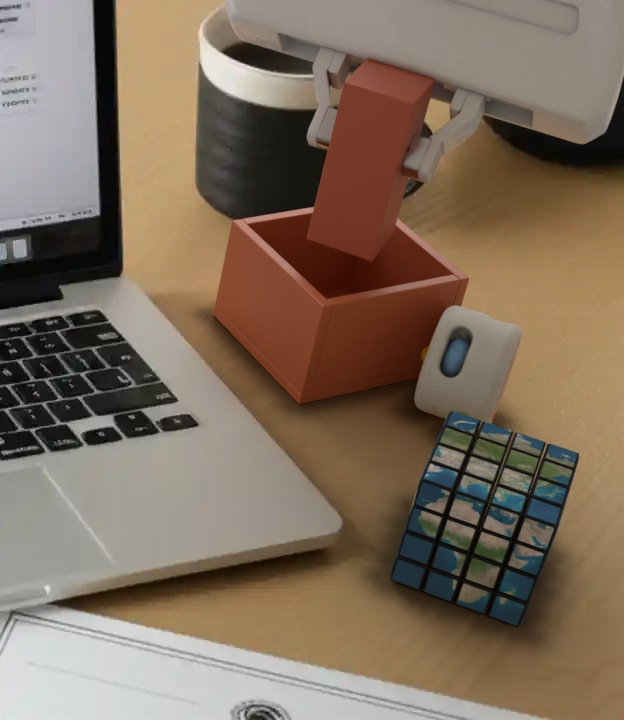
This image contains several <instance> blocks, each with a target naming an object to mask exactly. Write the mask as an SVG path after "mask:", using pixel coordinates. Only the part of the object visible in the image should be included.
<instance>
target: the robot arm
mask: <svg viewBox="0 0 624 720" xmlns="http://www.w3.org/2000/svg"><path fill="white" fill-rule="evenodd" d="M224 1H225V2H224V5H225V10H226V14H227V17H228V20H229V23H230V25H231V27H232V30H233V31H234V34H235V35H236V37H237V39H239V40H240V41H243V42H246V43H248V44H251V45H254V46H258V47H262V48H264V49H268V50H271V51H275V52H278V53H281V54H285V55H288V56H291V57H295V58H298V59H301V60H304V61H308V62H310V63H313V64H312V66H311V68H312V74H313V75H312V77H313V82H314V88H315V89H314V90H315V96H316V97H315V98H316V103H317V108H316V111H315V112H314V116H313V117H312V120H311V122H310V124H309V127H308V129H307V133H306V140H307V141H306V142H307V144H308V146H310V147H313V148H317V149H319V150H323V151H326V152H327V151H328V147H329V143H330V139H331V135H332V131H333V126H334V122H335V118H336V114H337V110H338V108H337V109H336V108H334V107H333V99H332V92H331V88H332V89H335V90H338V91H339V90H341V89H343V85H344V82H345V81H346V80H347V79H348V77H349V74H350V75H352V74H353V73H354V72H355V71H356V70H357V69H358V68H359V67H360V66H361V64H362V63H363V62H364V61H365V60H366V59H367V58H368V59H372V60H375V61H378V62H381V63H385V64H388V65H391V66H395V67H398V68H401V69H405V70H408V71H411V72H415V73H418V74H421V75H425V76H428V77H431V78H434V79H435V83H434V87H433V90H432V94H431V98H430V100H434V101H436V102H441V103H444V104H447V105H449V119H450V120H449V121H447V122H446V123H445V124H443V125H442V126H441V127H440V128H439V129H437V130H436V131H435V132H434V133H432V134H431V135H430V136H429V137H425V136H422V135H420V136H419V135H416V134H413V137H412V139H411V141H410V144H409V146H408V150H409V151H407V152H406V153H405V155H404V158H403V160H402V163H401V171H402V172H401V175H404V176H406V177H409V178H408V179H412V180H415V181H418V182H420V183H424V184H430V182H431V181H432V179H433V176H434V175H435V172H436V170H437V168H438V165H439V162H440V160H441V158H442V156H446V155H447V154H448V153H450V152H451V151H453V150H454V149H455V148H457V147H458V146H459V145H461V144H462V143H463V142H465V141H466V140H467V139H469V138H470V137H472V136H473V135H475V134H476V133H477V131H478V128H479V126H480V123H481V121H482V119H483V116H486V117H490V118H492V119H496V120H500V121H502V122H506V123H509V124H513V125H516V126H519V127H521V128H526V129H528V130H532V131H536V132H538V133H542V134H545V135H548V136H552V137H555V138H557V139H561V140H564V141H567V142H571V143H573V144H578V145H584V144H588V143H589V142H592V141H594V140H595V139H597V138H599V137H600V136H602V135H604V134H605V133H606V132H607V130H608V128H609V125H610V123H611V120H612V117H613V115H614V111H615V109H616V106H617V102H618V99H619V95H620V92H621V89H622V84H623V81H624V0H224Z"/></svg>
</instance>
